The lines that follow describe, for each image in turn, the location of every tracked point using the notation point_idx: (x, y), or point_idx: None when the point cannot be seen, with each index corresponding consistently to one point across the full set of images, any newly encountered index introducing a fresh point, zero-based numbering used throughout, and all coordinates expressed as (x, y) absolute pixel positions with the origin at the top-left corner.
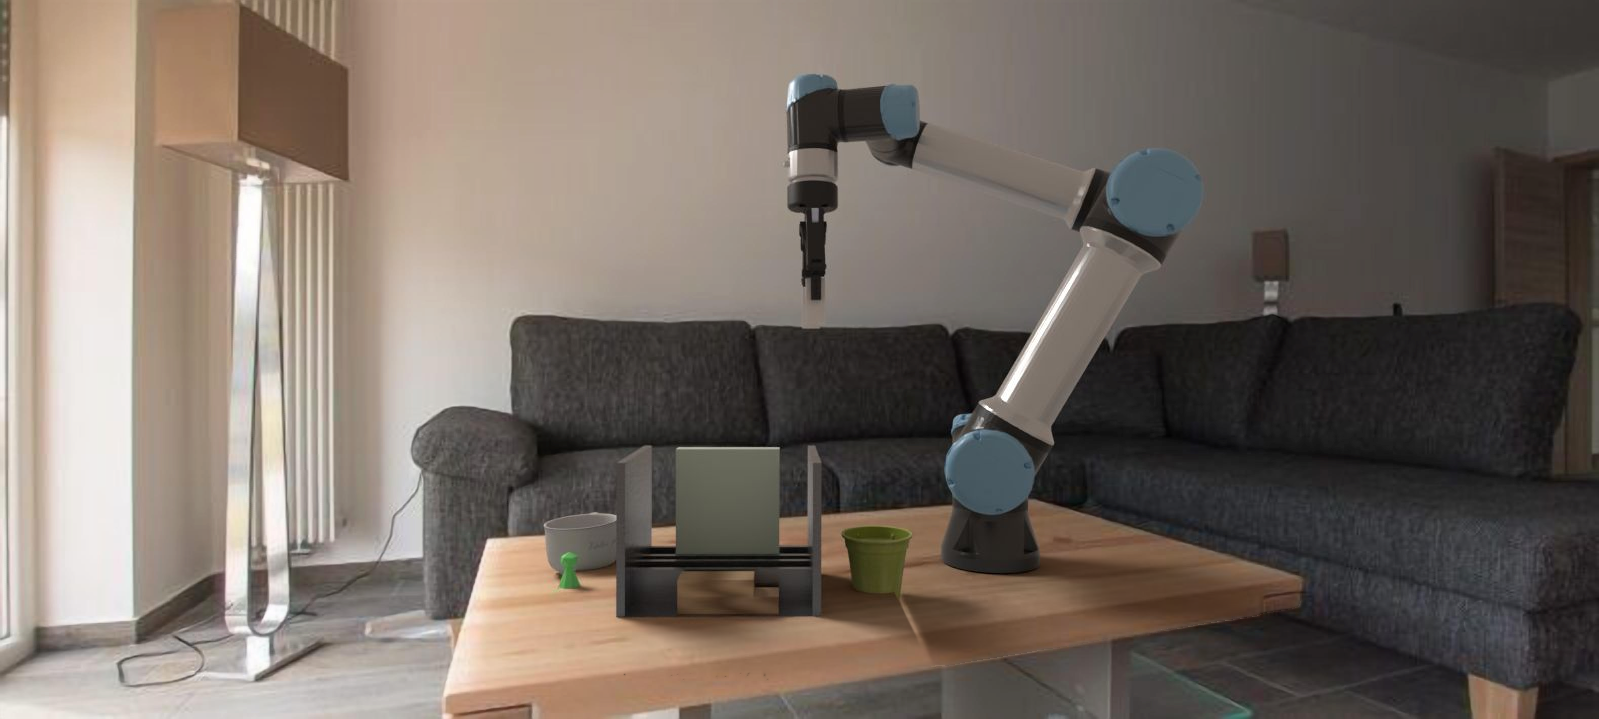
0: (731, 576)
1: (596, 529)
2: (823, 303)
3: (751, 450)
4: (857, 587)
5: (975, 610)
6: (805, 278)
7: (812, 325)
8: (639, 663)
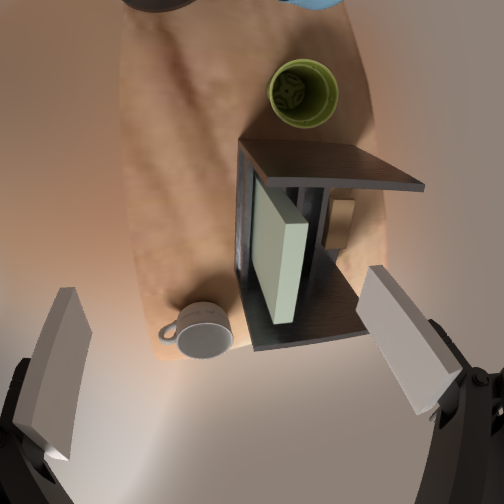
0: (344, 215)
1: (227, 327)
2: (412, 308)
3: (303, 253)
4: (299, 109)
5: (324, 26)
6: (60, 488)
7: (79, 314)
8: (379, 242)
